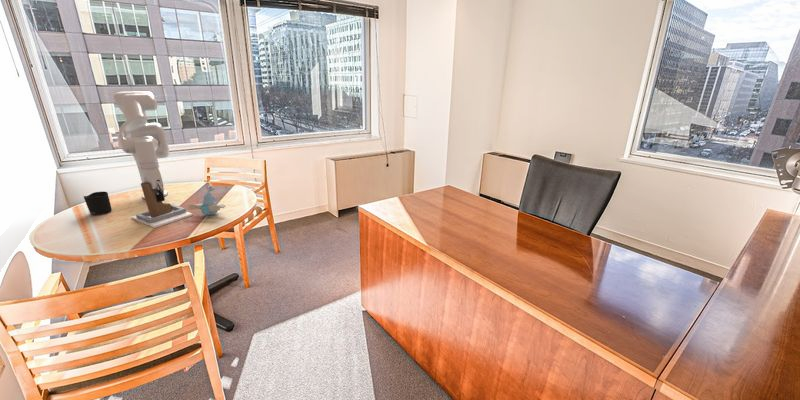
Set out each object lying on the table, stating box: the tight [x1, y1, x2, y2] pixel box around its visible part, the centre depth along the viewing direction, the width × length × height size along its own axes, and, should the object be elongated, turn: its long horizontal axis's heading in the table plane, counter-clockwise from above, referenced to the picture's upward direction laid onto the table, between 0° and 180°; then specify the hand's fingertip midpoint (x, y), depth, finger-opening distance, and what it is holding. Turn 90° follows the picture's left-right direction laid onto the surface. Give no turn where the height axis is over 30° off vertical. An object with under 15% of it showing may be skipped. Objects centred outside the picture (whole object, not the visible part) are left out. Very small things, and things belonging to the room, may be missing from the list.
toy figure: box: [188, 184, 226, 216], centre depth 172 cm, size 17×10×15 cm, turn 84°
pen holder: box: [83, 191, 113, 216], centre depth 174 cm, size 9×9×10 cm
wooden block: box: [140, 182, 172, 218], centre depth 167 cm, size 9×4×18 cm, turn 169°
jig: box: [130, 203, 193, 229], centre depth 170 cm, size 22×18×3 cm
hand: (158, 199), depth 167 cm, fingers closed on wooden block, 4 cm apart
